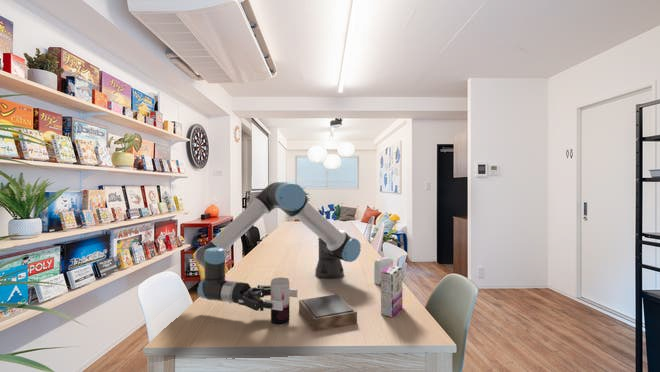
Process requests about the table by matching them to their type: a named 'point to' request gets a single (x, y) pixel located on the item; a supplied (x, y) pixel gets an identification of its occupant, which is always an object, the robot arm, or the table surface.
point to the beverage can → (280, 294)
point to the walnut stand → (327, 312)
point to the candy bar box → (391, 290)
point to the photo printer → (381, 268)
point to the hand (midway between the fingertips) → (290, 299)
